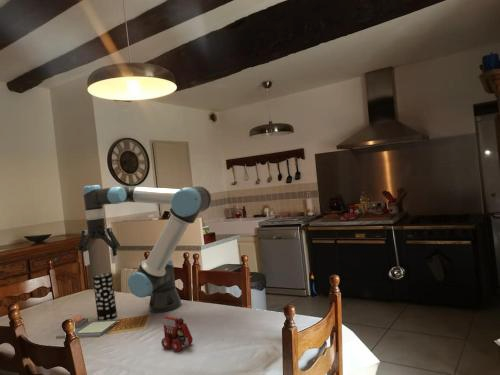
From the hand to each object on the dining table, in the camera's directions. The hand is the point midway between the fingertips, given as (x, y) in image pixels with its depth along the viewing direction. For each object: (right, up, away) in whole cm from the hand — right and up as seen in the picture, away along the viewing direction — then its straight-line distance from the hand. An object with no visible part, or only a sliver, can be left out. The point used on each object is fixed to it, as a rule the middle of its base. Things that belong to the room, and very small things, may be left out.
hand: (100, 264), depth 170 cm
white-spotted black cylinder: (+3, -25, 0) cm, 26 cm away
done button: (-7, -24, -8) cm, 26 cm away
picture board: (0, -26, -12) cm, 28 cm away
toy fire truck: (+44, -21, -39) cm, 63 cm away
